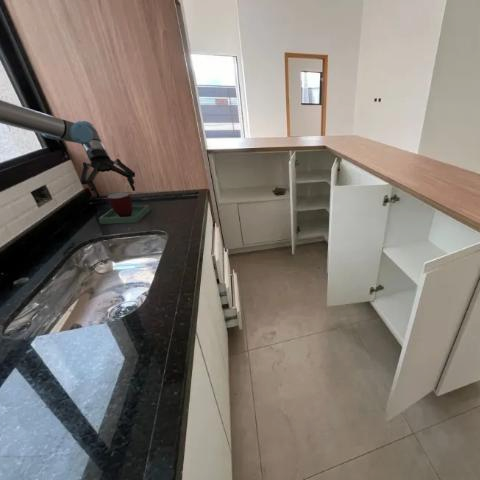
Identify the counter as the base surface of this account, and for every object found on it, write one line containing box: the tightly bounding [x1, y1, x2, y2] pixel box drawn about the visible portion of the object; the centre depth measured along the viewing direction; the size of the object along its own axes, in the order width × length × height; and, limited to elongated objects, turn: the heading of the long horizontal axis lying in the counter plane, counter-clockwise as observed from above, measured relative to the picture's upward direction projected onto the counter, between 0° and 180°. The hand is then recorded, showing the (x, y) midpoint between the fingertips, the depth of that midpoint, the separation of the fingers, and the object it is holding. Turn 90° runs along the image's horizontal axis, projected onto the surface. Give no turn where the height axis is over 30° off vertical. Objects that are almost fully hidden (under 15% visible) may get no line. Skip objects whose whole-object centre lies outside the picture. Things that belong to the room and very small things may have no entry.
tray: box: [98, 204, 151, 225], centre depth 121 cm, size 15×15×3 cm
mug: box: [106, 192, 133, 217], centre depth 119 cm, size 10×8×10 cm
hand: (116, 192), depth 119 cm, fingers open, 13 cm apart
